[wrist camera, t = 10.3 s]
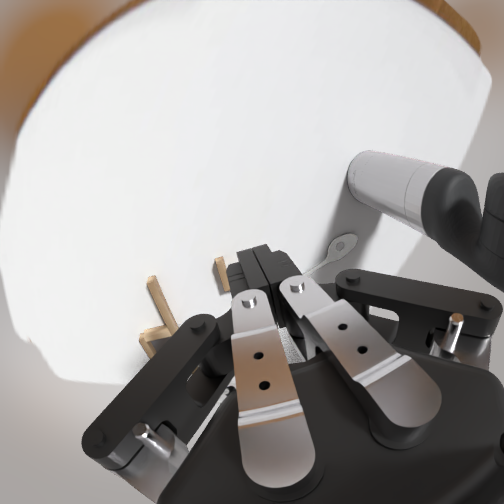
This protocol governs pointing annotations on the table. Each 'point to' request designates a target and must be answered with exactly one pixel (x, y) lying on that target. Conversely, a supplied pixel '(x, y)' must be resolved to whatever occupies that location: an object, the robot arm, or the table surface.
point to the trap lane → (169, 314)
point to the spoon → (333, 253)
